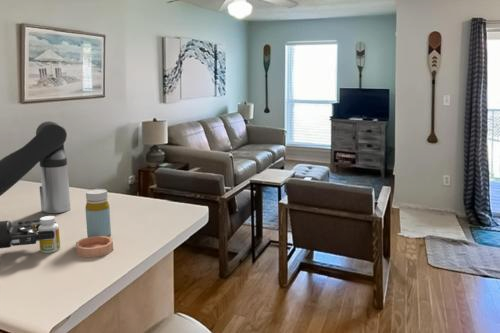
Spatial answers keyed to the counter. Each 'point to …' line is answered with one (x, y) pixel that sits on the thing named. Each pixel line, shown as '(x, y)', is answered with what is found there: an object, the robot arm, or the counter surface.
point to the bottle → (97, 213)
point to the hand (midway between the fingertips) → (55, 229)
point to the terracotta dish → (94, 246)
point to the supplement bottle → (49, 225)
